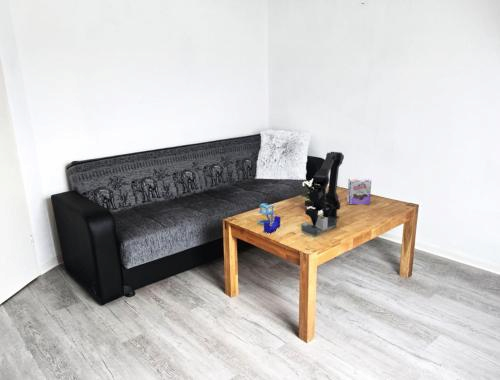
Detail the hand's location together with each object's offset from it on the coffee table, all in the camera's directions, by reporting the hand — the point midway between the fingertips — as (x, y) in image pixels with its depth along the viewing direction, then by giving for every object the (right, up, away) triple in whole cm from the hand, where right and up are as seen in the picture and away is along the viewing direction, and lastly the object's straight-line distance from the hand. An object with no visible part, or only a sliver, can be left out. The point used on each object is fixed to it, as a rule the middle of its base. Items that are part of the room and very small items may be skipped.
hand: (319, 223), depth 225 cm
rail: (0, -3, +1) cm, 4 cm away
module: (0, -2, +1) cm, 2 cm away
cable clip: (-25, -4, +2) cm, 26 cm away
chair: (-29, -1, +12) cm, 31 cm away
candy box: (+33, +10, +43) cm, 55 cm away
